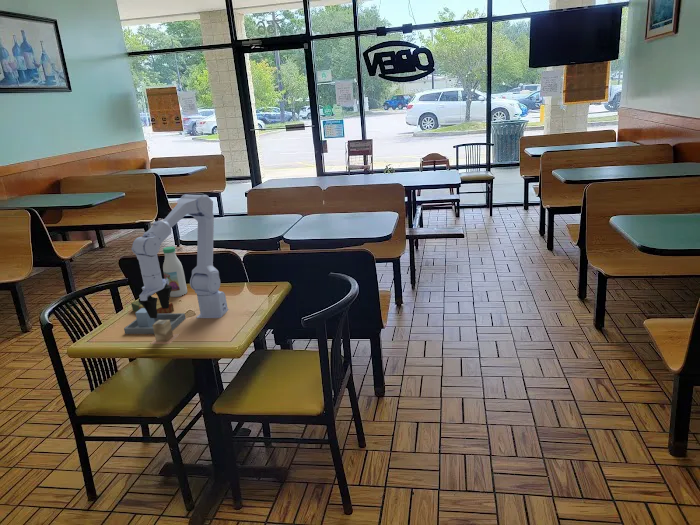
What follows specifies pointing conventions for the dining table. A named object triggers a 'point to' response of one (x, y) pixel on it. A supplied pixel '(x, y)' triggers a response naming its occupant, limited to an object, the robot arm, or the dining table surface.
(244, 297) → the dining table surface
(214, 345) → the dining table surface
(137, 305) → the carton
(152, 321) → the slate block
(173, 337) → the terracotta pad
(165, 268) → the milk bottle
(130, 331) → the parts tray
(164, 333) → the oak block
